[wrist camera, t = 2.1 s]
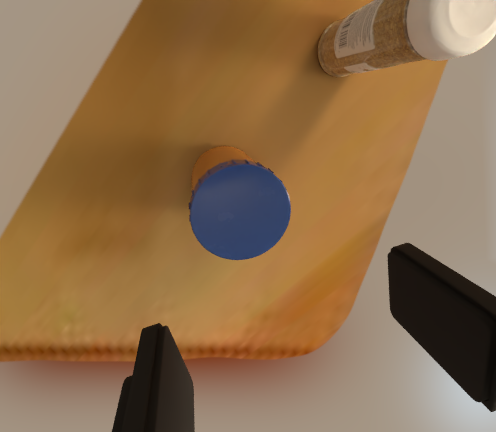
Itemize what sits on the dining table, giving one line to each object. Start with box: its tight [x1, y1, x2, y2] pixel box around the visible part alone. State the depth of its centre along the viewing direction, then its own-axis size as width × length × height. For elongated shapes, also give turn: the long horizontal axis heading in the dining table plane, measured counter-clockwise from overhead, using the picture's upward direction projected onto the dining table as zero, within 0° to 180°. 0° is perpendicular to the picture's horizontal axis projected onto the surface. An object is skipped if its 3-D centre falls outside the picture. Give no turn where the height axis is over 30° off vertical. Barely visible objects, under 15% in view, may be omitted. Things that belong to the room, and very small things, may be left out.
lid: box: [189, 159, 291, 260], centre depth 20 cm, size 7×7×2 cm
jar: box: [191, 146, 256, 190], centre depth 24 cm, size 6×6×9 cm
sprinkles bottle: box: [318, 0, 496, 77], centre depth 20 cm, size 5×5×13 cm
